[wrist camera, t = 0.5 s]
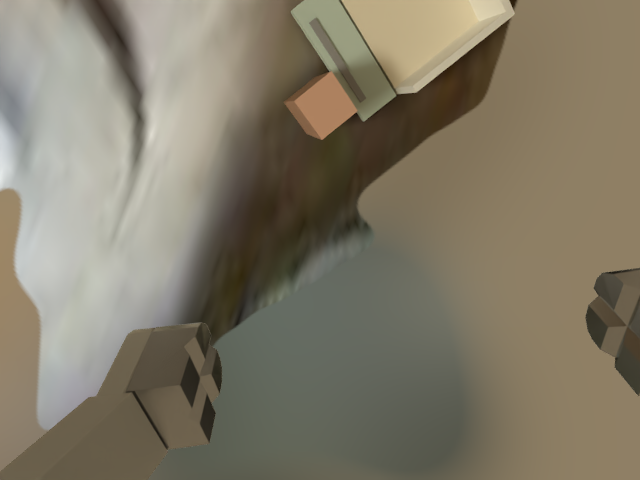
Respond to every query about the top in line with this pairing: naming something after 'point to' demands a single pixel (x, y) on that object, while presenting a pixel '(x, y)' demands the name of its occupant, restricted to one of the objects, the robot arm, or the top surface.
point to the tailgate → (344, 54)
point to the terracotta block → (321, 105)
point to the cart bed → (423, 34)
